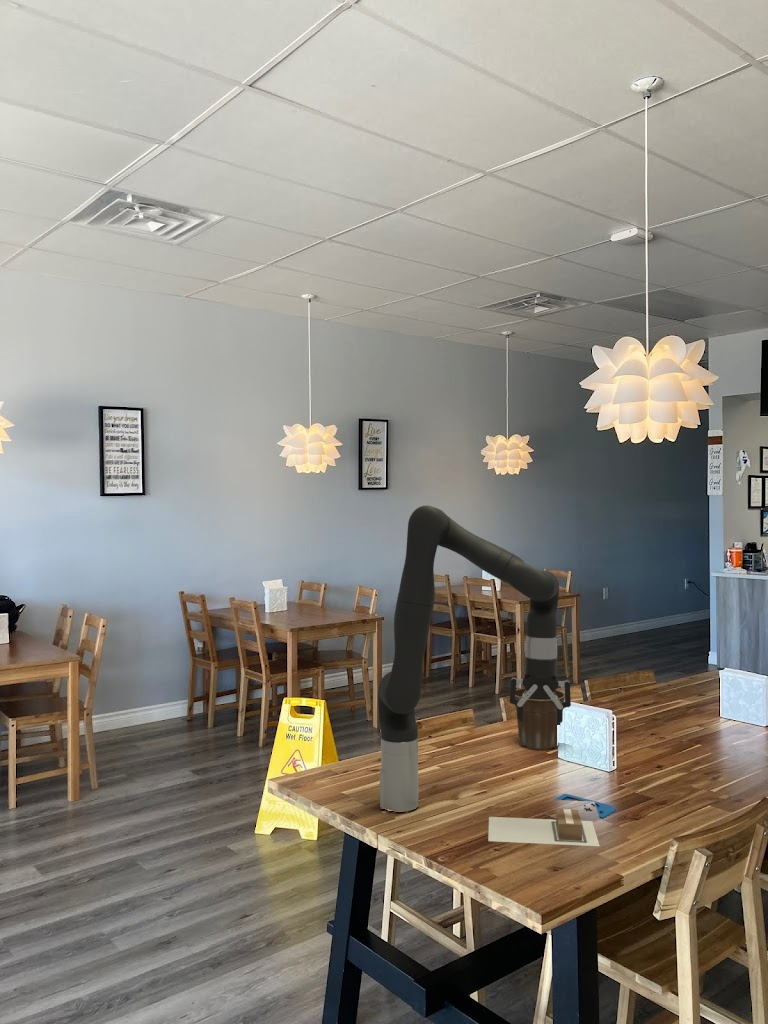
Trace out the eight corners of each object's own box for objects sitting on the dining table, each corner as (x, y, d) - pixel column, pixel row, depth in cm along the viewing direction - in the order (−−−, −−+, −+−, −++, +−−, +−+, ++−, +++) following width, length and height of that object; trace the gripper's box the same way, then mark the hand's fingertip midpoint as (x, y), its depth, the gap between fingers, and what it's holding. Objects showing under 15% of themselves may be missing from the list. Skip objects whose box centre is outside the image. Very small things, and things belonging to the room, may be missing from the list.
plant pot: (570, 752, 245) (570, 699, 244) (516, 752, 245) (516, 699, 245) (560, 737, 261) (559, 687, 261) (509, 737, 261) (509, 687, 261)
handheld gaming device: (603, 816, 193) (547, 801, 203) (603, 820, 193) (547, 805, 203) (619, 806, 199) (564, 792, 209) (619, 810, 199) (564, 796, 209)
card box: (556, 823, 189) (555, 808, 189) (577, 824, 189) (577, 809, 189) (558, 839, 181) (558, 823, 181) (582, 840, 180) (581, 824, 180)
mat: (488, 843, 180) (488, 840, 180) (488, 818, 194) (488, 816, 194) (599, 848, 177) (599, 845, 177) (592, 823, 191) (592, 820, 191)
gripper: (570, 653, 196) (569, 721, 196) (510, 650, 199) (509, 717, 199) (572, 659, 189) (570, 729, 189) (510, 656, 191) (508, 725, 191)
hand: (539, 723), depth 194 cm, fingers open, 8 cm apart
